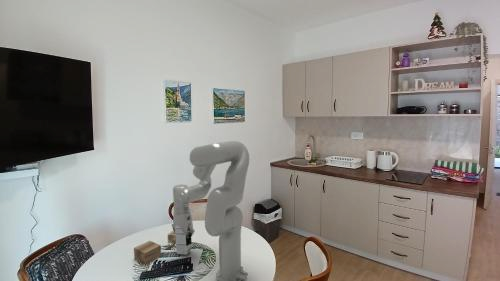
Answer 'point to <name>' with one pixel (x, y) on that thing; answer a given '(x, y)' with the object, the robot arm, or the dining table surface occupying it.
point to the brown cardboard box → (147, 252)
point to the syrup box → (181, 241)
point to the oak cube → (171, 238)
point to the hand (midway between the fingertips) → (183, 242)
